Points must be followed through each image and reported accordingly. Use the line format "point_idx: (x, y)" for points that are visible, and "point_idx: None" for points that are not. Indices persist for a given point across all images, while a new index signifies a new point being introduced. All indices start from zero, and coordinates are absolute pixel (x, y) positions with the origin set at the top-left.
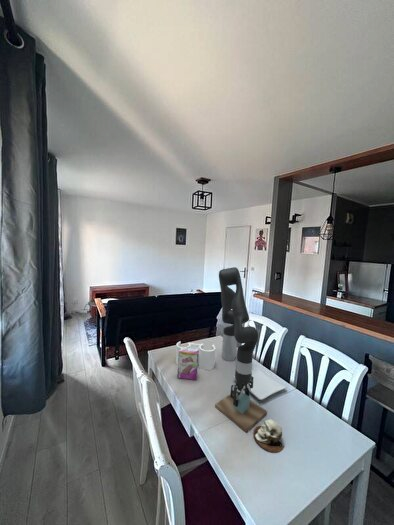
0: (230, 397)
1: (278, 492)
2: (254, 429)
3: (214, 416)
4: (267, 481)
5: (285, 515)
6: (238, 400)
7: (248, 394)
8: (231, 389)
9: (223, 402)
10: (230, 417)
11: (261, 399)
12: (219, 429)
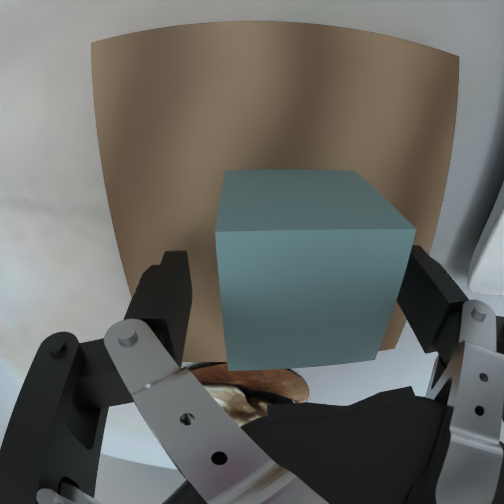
0: (50, 340)
1: (118, 444)
2: (211, 366)
3: (40, 135)
4: (108, 431)
5: (104, 452)
6: (223, 312)
7: (411, 325)
8: (3, 474)
9: (184, 64)
10: (119, 240)
11: (470, 289)
12: (24, 242)
